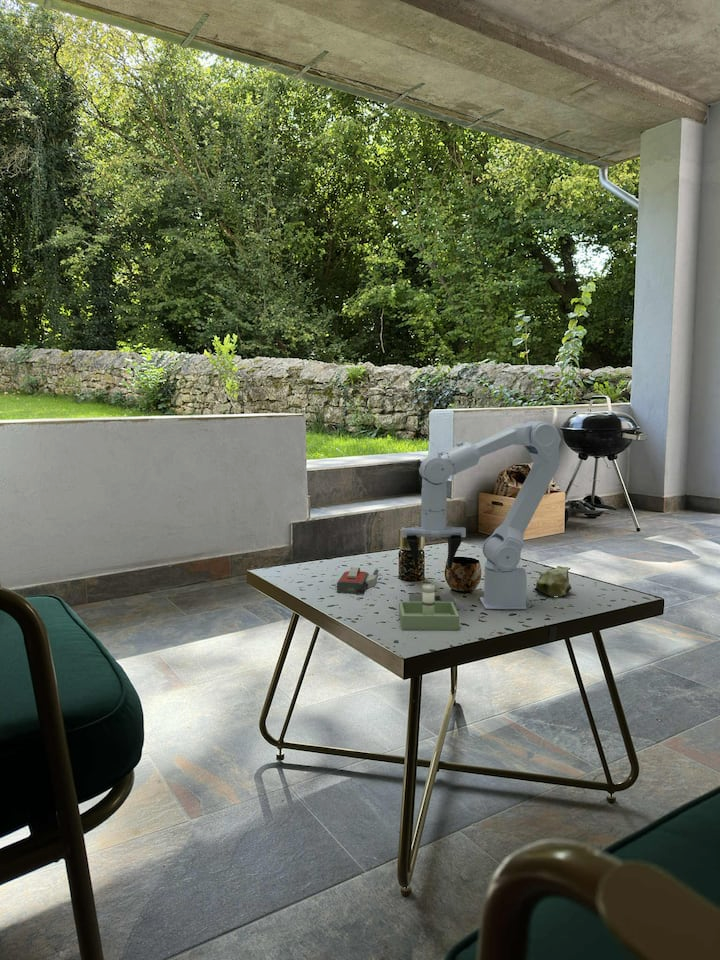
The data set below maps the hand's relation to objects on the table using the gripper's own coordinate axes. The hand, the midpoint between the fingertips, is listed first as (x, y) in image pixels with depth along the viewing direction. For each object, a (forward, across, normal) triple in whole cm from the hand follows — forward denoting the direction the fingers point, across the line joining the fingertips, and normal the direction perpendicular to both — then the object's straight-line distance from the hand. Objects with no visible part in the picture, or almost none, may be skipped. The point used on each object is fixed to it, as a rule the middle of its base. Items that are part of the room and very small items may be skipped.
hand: (432, 567), depth 166 cm
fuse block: (+9, 0, 0) cm, 9 cm away
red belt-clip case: (+10, -16, +19) cm, 27 cm away
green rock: (+10, +32, +11) cm, 35 cm away
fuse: (+9, -2, -10) cm, 14 cm away
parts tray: (+9, -2, -10) cm, 14 cm away
